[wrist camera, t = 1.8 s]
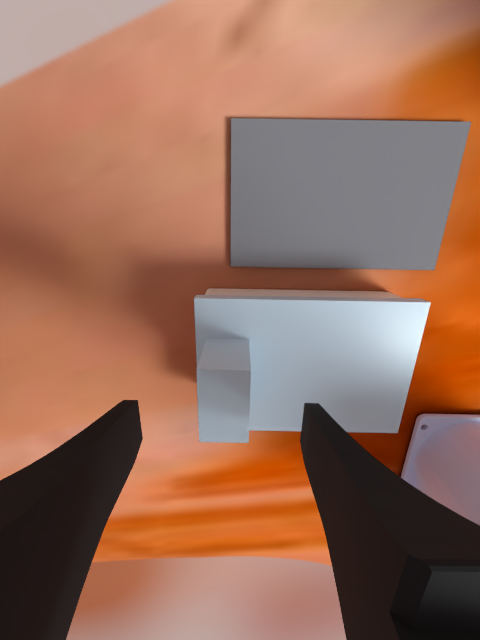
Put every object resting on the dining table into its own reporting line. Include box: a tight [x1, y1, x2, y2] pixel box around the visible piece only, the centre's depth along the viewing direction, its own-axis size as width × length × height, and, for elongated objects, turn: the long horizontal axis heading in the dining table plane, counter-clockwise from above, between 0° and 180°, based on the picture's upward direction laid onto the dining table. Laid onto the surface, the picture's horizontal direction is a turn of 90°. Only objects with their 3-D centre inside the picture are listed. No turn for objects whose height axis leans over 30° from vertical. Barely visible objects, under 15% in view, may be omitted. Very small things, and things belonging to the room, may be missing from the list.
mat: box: [231, 118, 471, 270], centre depth 16 cm, size 8×13×1 cm, turn 89°
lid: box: [194, 295, 431, 443], centre depth 15 cm, size 9×13×4 cm
